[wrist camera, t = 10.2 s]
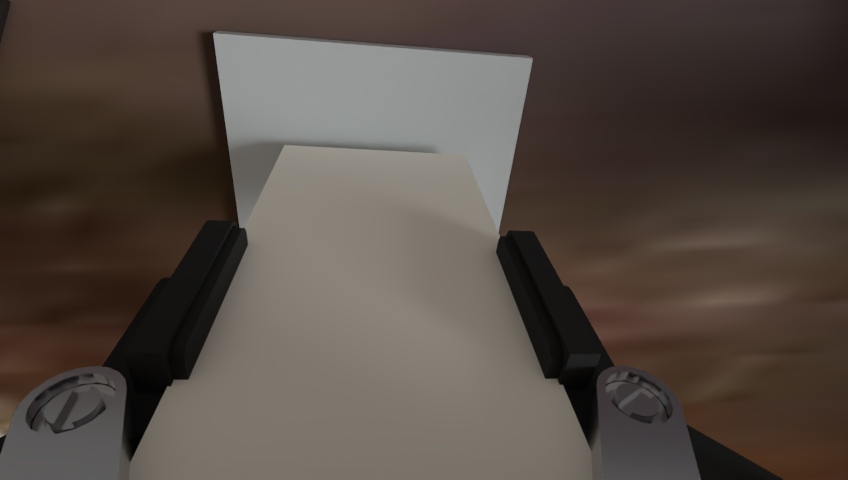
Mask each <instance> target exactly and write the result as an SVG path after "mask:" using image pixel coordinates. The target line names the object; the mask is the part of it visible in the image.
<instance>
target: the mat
mask: <svg viewBox="0 0 848 480" xmlns="http://www.w3.org/2000/svg"><path fill="white" fill-rule="evenodd" d="M213 38H214V45H215V52H216V59H217V67H218V74H219V81H220V89H221V96H222V103H223V111H224V118H225V125H226V132H227V140H228V147H229V154H230V162H231V169H232V176H233V184H234V191H235V198H236V205H237V213H238V220H239V227H240V228H244V227H245V225H246V223H247V221H248V219H249V217H250V215H251V213H252V211H253V209H254V207H255V205H256V203H257V201H258V198H259V196H260V194H261V192H262V190H263V188H264V186H265V184H266V182H267V180H268V178H269V176H270V174H271V172H272V170H273V168H274V166H275V163H276V161H277V159H278V157H279V155H280V153H281V151H282V149H283V147H284V145H295V146H313V147H331V148H349V149H367V150H385V151H403V152H421V153H439V154H457V155H465V156H466V158H467V160H468V163H469V165H470V168H471V170H472V172H473V175H474V177H475V179H476V182H477V184H478V186H479V189H480V191H481V193H482V196H483V198H484V200H485V203H486V205H487V208H488V210H489V212H490V215H491V217H492V219H493V222H494V224H495V226H496V229H497V231H498V232H499V227H500V222H501V217H502V212H503V207H504V202H505V197H506V192H507V187H508V182H509V177H510V172H511V167H512V162H513V157H514V152H515V147H516V141H517V136H518V131H519V126H520V121H521V116H522V111H523V106H524V101H525V96H526V91H527V86H528V81H529V76H530V71H531V66H532V61H533V58H532V57H530V56H528V55H515V54H503V53H490V52H478V51H465V50H453V49H440V48H428V47H415V46H403V45H390V44H378V43H365V42H353V41H340V40H327V39H315V38H302V37H290V36H277V35H265V34H252V33H240V32H227V31H216V32H214V33H213Z"/></svg>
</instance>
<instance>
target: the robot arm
mask: <svg viewBox="0 0 848 480" xmlns="http://www.w3.org/2000/svg"><path fill="white" fill-rule="evenodd" d="M247 246H248V239H247V233H246V229H245V228H238V226H237V223H236V222H235V221H214V220H208V221H207V222H206V223H205V224H204V226H203V227H202V229H201V231H200V232H199V234H198V235H197V237H196V238H195V240H194V242H193V243H192V245H191V246H190V248H189V249H188V251H187V253H186V254H185V256H184V257H183V259H182V260H181V262H180V264H179V265H178V267H177V268H176V270H175V271H174V273H173V275H172V276H171V278H163V279H161V280H160V281H159V282H158V283H157V285H156V286H155V288H154V289H153V291H152V292H151V294H150V295H149V297H148V298H147V300H146V301H145V303H144V304H143V306H142V307H141V309H140V310H139V312H138V313H137V315H136V316H135V318H134V319H133V321H132V322H131V324H130V325H129V327H128V328H127V330H126V331H125V333H124V334H123V336H122V337H121V339H120V340H119V342H118V343H117V345H116V346H115V348H114V350H113V351H112V353H111V354H110V356H109V357H108V359H107V360H106V362H105V363H104V365H103V366H102V367H99V366H92V367H83V368H78V369H74V370H71V371H68V372H64V373H62V374H59V375H57V376H55V377H53V378H51V379H49V380H47V381H45V382H44V383H42V384H41V385H40V386H38V387H37V388H35V389H34V390H32V391H31V392H30V393H29V394H28V395H27V396H26V397H25V398H24V399H23V400H22V401H21V402H20V404H19V406H18V407H17V409H16V411H15V413H14V415H13V417H12V420H11V423H10V426H9V429H8V432H7V435H5V436H3V437H1V438H0V480H129V470H130V462H131V460H132V458H133V456H134V454H135V452H136V450H137V448H138V446H139V443H140V441H141V439H142V437H143V435H144V433H145V431H146V429H147V427H148V425H149V423H150V421H151V419H152V417H153V415H154V413H155V411H156V408H157V406H158V404H159V402H160V400H161V398H162V396H163V394H164V392H165V390H166V388H167V386H171V385H172V383H173V380H188V379H189V377H190V375H191V373H192V370H193V368H194V366H195V364H196V361H197V359H198V357H199V355H200V352H201V350H202V348H203V346H204V343H205V341H206V339H207V337H208V334H209V332H210V330H211V327H212V325H213V323H214V321H215V318H216V316H217V314H218V312H219V309H220V307H221V305H222V303H223V300H224V298H225V296H226V294H227V291H228V289H229V287H230V285H231V282H232V280H233V278H234V275H235V273H236V271H237V269H238V266H239V264H240V262H241V260H242V257H243V255H244V253H245V251H246V248H247ZM496 254H497V256H498V259H499V261H500V264H501V266H502V269H503V272H504V274H505V277H506V279H507V282H508V284H509V287H510V290H511V292H512V295H513V297H514V300H515V302H516V305H517V308H518V310H519V313H520V315H521V318H522V320H523V323H524V325H525V328H526V331H527V333H528V336H529V338H530V341H531V343H532V346H533V349H534V351H535V354H536V356H537V359H538V361H539V364H540V367H541V369H542V372H543V374H544V377H545V379H558V382H559V385H563V386H564V389H565V391H566V393H567V396H568V398H569V400H570V403H571V405H572V407H573V410H574V412H575V414H576V417H577V419H578V422H579V424H580V426H581V429H582V431H583V433H584V436H585V438H586V440H587V443H588V445H589V447H590V450H591V458H592V477H593V480H783V479H781V478H780V477H778V476H776V475H774V474H773V473H771V472H769V471H767V470H766V469H764V468H762V467H760V466H758V465H757V464H755V463H753V462H751V461H750V460H748V459H746V458H744V457H743V456H741V455H739V454H737V453H736V452H734V451H732V450H730V449H729V448H727V447H725V446H723V445H722V444H720V443H718V442H716V441H715V440H713V439H711V438H709V437H708V436H706V435H704V434H702V433H701V432H699V431H697V430H695V429H693V428H692V427H690V426H688V425H686V421H685V417H684V414H683V410H682V407H681V405H680V402H679V400H678V398H677V396H676V395H675V394H674V393H673V391H672V390H671V389H670V388H669V387H668V386H667V385H666V384H664V383H663V382H662V381H661V380H660V379H658V378H657V377H655V376H653V375H651V374H649V373H648V372H646V371H643V370H640V369H637V368H634V367H627V366H614V364H613V362H612V361H611V359H610V357H609V355H608V354H607V352H606V350H605V348H604V347H603V345H602V343H601V341H600V340H599V338H598V336H597V334H596V333H595V331H594V329H593V327H592V326H591V324H590V322H589V320H588V318H587V317H586V315H585V313H584V311H583V310H582V308H581V306H580V304H579V303H578V301H577V299H576V297H575V296H574V294H573V292H572V291H571V289H570V288H569V287H567V286H563V284H562V282H561V280H560V278H559V277H558V275H557V273H556V271H555V269H554V268H553V266H552V264H551V262H550V260H549V258H548V257H547V255H546V253H545V251H544V249H543V248H542V246H541V244H540V242H539V240H538V239H537V237H536V235H535V233H534V232H532V231H508V233H507V235H506V236H501V237H500V238H499V240H498V244H497V249H496Z"/></svg>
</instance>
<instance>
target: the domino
mask: <svg viewBox="0 0 848 480" xmlns="http://www.w3.org/2000/svg"><path fill="white" fill-rule="evenodd" d="M244 228H245V229H246V233H247V239H248V246H247V248H246V251H245V253H244V255H243V257H242V260H241V262H240V264H239V266H238V269H237V271H236V273H235V275H234V278H233V280H232V282H231V285H230V287H229V289H228V291H227V294H226V296H225V298H224V300H223V303H222V305H221V307H220V309H219V312H218V314H217V316H216V318H215V321H214V323H213V325H212V327H211V330H210V332H209V334H208V337H207V339H206V341H205V343H204V346H203V348H202V350H201V352H200V355H199V357H198V359H197V361H196V364H195V366H194V368H193V370H192V373H191V375H190V377H189V379H188V380H173V383H172V385H171V386H167V388H166V390H165V392H164V394H163V396H162V398H161V400H160V402H159V404H158V406H157V408H156V411H155V413H154V415H153V417H152V419H151V421H150V423H149V425H148V427H147V429H146V431H145V433H144V435H143V437H142V439H141V441H140V443H139V446H138V448H137V450H136V452H135V454H134V456H133V458H132V460H131V462H130V470H129V480H593V477H592V458H591V450H590V447H589V445H588V443H587V440H586V438H585V436H584V433H583V431H582V429H581V426H580V424H579V422H578V419H577V417H576V414H575V412H574V410H573V407H572V405H571V403H570V400H569V398H568V396H567V393H566V391H565V389H564V386H563V385H559V382H558V379H545V377H544V374H543V372H542V369H541V367H540V364H539V361H538V359H537V356H536V354H535V351H534V349H533V346H532V343H531V341H530V338H529V336H528V333H527V331H526V328H525V325H524V323H523V320H522V318H521V315H520V313H519V310H518V308H517V305H516V302H515V300H514V297H513V295H512V292H511V290H510V287H509V284H508V282H507V279H506V277H505V274H504V272H503V269H502V266H501V264H500V261H499V259H498V256H497V254H496V249H497V244H498V240H499V238H500V236H499V233H498V231H497V229H496V226H495V224H494V222H493V219H492V217H491V215H490V212H489V210H488V208H487V205H486V203H485V200H484V198H483V196H482V193H481V191H480V189H479V186H478V184H477V182H476V179H475V177H474V175H473V172H472V170H471V168H470V165H469V163H468V160H467V158H466V156H465V155H457V154H439V153H421V152H403V151H385V150H367V149H349V148H331V147H313V146H295V145H284V147H283V149H282V151H281V153H280V155H279V157H278V159H277V161H276V163H275V166H274V168H273V170H272V172H271V174H270V176H269V178H268V180H267V182H266V184H265V186H264V188H263V190H262V192H261V194H260V196H259V198H258V201H257V203H256V205H255V207H254V209H253V211H252V213H251V215H250V217H249V219H248V221H247V223H246V225H245V227H244Z"/></svg>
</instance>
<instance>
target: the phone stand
mask: <svg viewBox="0 0 848 480" xmlns="http://www.w3.org/2000/svg"><path fill="white" fill-rule="evenodd" d="M9 6H10V1H9V0H0V42H1V38H2V34H3V30H4V26H5V22H6V18H7V14H8V10H9Z"/></svg>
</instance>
